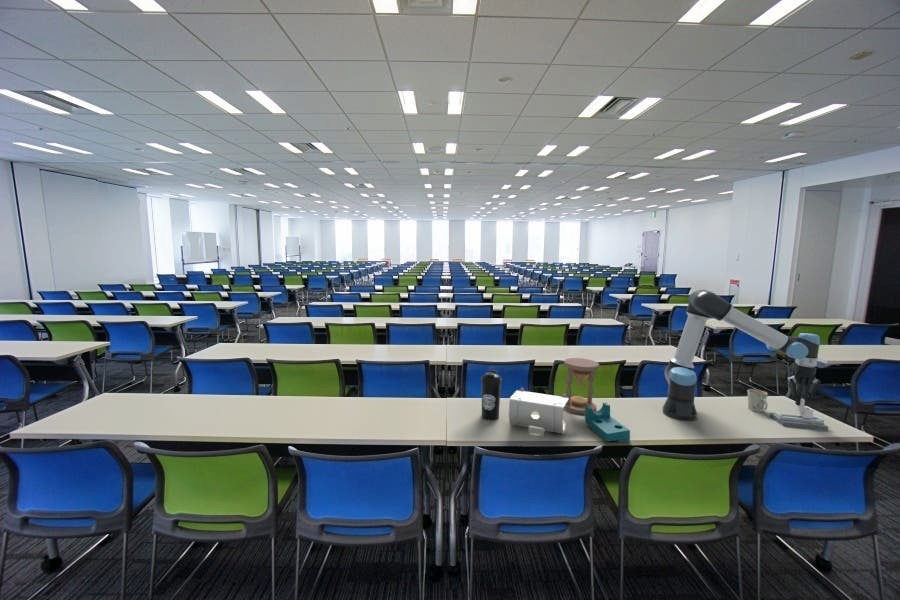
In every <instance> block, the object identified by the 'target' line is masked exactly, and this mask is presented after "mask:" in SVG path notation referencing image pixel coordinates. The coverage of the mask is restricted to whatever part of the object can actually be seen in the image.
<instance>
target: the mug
mask: <svg viewBox="0 0 900 600" xmlns="http://www.w3.org/2000/svg"><path fill="white" fill-rule="evenodd" d="M746 392H747V407H748V410H751V411H752V412H759V413H761V412H764V411H767V410H768V407H769V406H768V401H767V398H768V392H767V391H764V390H761V389H756V388H749V389H747V391H746Z"/></svg>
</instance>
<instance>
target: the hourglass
mask: <svg viewBox="0 0 900 600" xmlns="http://www.w3.org/2000/svg"><path fill="white" fill-rule="evenodd" d="M563 365H564V367H566V368H567V373H566V374H567V375H566V385H567V387H566V389H565V394H566V397H567V398H569V400H568V401H567V403H566V404H565V406H564V410H565V411H567V412H570V413H573V414H577V415H585V405H588V406H590V407H591V408H592V411H593V412H597V405H596V404H595V403H594V402H593V393H594V386H593V383H594V380H595V374H594V372H596V371H597V370H599V368H600V364H599V362H597V361H595V360H592V359H588V358H581V357H580V358H579V357H570V358H566V359H564V361H563ZM573 377H574V379H575V380H576V382H577V383H578V387H582V386H583V383H585V381H586V380H588V385H587V390H586V391H587V394H586V395H587V398H586V397H583V396H581V395H575V396H572V394H573V392H572V382H573Z"/></svg>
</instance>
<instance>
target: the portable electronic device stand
mask: <svg viewBox="0 0 900 600" xmlns="http://www.w3.org/2000/svg"><path fill="white" fill-rule="evenodd" d="M568 400H569V398H567V397H566V393H562V395H561V396H559V395H553V394H545V393H540V392H539V393H538V392H534V391H533V392H531V391H525V390H524V387H520V388H519V390H518V389H517V390H516V391H514V392H513V394H512V395H511V396H510V398H509V404H508V405H509V406H508V423H509V425H513V426H519V427H523V428H528V430H527V433H528V434H527V435H529V434H530V435H529V436H533V435H535V437H538V436H541V438H542V436H543V437H544V435H545V433H546V431H547V432H552V433H553V432H554V433H556V434H565V432H566V427H567V422H565V421H564V412H565V411H564V410H565V409H564V406H565V404H566V403H567V401H568ZM533 412H535V413H536V412H537V413H538V415H536V414H532V413H533Z"/></svg>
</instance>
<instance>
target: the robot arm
mask: <svg viewBox="0 0 900 600" xmlns="http://www.w3.org/2000/svg"><path fill="white" fill-rule="evenodd" d="M687 303H688V304H687V307H686V311H685V313H686V315H687V318H686V321H685V324H684V327H683V331H682V333H681V336H680V339H679V341H678V345H677V348H676V351H675V354H674V357H672V358H670V359H669V361H668V365H666V366H665V369H664V373H663V375H664V378H665V380H666V382H667V384H668V387H667V397H666V399H665V402H664V404H663V406H662V413H664V415H665V416H668V417H671V418H673V419H677V420H680V421H681V420H682V421H694V420H697V418H698V412H697V408H696V404H695V397H696V395H695V394H696V385H697V381H698V380H697V373H696V372H695V371H694V369H695V366H694V364H693V361H694V358H695V355H696V353H697V350H698V347H699V344H700V341H701V340H702V339H701V338H702V336H703V332H704V329H705V327H706V325H707V324H706V323H707V321H709V320H711V319H715V320H717V321H718V322H721V321H722V322H725V323H727V324H729V325H730V326H732V327H734V328H736V329H738V330H739V331H742V332H743V333H746V334H747V335H750V336H751V337H753V338H754V339H756V340H758V341H760V342H762V343H763V344H765V347H766V349H767V350H769V351H774V352H780V353H782V354H784V355H786V356H788V357H789V358H791V359H794V360H795V361H794V362H795V365H794V373H793V375H792V376H790V377H789V376H787V378H786V380H787V381H788V383H789V390H790V395H791V397H793V398H795V406H796V410H795V411H797V413H798V412H800V413H803V412H804V406H807V405H808V404H807V403H808V401H809V400H813V398H814V395H815V394H816V392H817V389H818V387H819V385H820V384H821V383H822V381H821V380H820V379H817V378H816V373H817V364H818V355H819V349H820V346H821V345H820V343H821V341H820V340H821V339H820V336H819V335H818V334H814V333H809V332H808V333H807V332H801V333H800V332H799V334H798V336H787V335H786V334H784V333H782V332H780V331H778V330H776V329H774V328H773V327H771V326H769V325H767V324H765V323H763V322H762V321H760V320H757V319H756V318H754V317H752V316H750V315H748V314H746V313H745V312H744V311H743V312H742V311H740V310H738V309H737V308H735V307H734V305H733V303H730V302H728V301H726V300H725V299H724V298H722V297H721V296H719V295H718V294H716V293H715V292H712V291H710V290H707V289H699V290H695V291H693V292H692V293H691V294H690V295H689V296H688V300H687ZM795 382H796V383H795Z"/></svg>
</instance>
